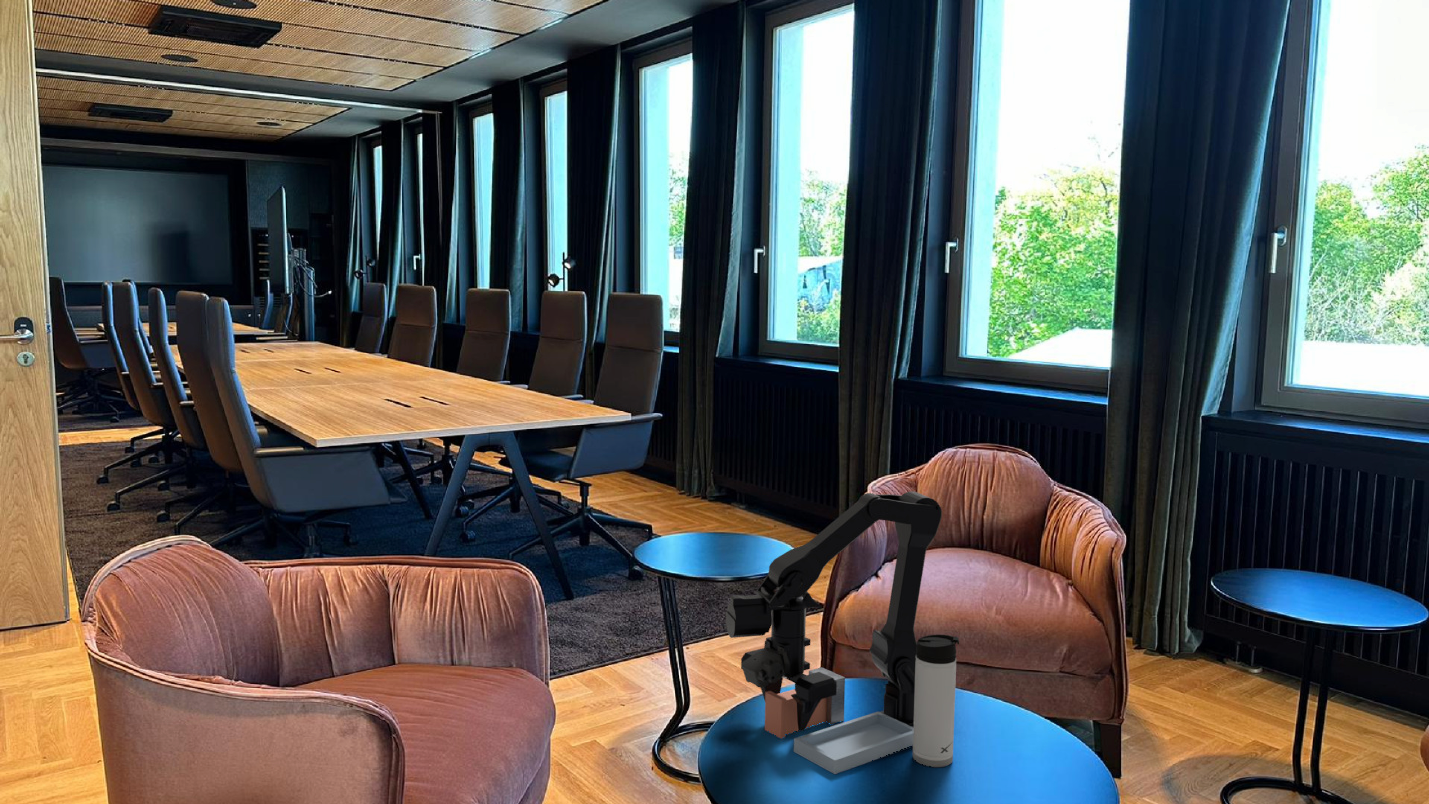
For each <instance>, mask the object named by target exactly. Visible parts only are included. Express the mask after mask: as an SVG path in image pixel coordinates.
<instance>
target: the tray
mask: <svg viewBox="0 0 1429 804" xmlns="http://www.w3.org/2000/svg"><path fill="white" fill-rule="evenodd" d="M913 727H914V726H912V725H911V726H909V725H907V724H905V723H903V722H900V721H898V720H896V719H894V718H892V717H889V716H887V715H885V714H883V713H881V711H875V712H872V713H869V714H867V715H863V716H860V717H857V718H853V719H851V720H847V721H843V722H840V723H837V724H834V725H831V726H830V727H829V726H828V727H826V728H823V729H820V730H817V731H814V732H810V733H808V734H804V735H801V736H798V737H794V738H793V752H794V753H795V754H798V755H799V756H801V757H802V758H805V759H807V760H808V761H810V762H812V763H813V764H815V765H818V766H819V767H821V768H823V769H824V770H826V771H828V772H830V773H832V774H834V775H836V774H838V773H839V774H840V773H842V772H845V771H848V770H851V769H854V768H856V767H858V766H862V765H865V764H867V763H871V762H873V761H875V760H879V759H881V758H883V757H887V756H889V755H888V754H890V755H892V754H894V753H893V752H895V753H897V752H896V751H898V752H900V750H901V749H903V750H905V749H904V748H906V749H908V748H907V747H909V746H912V747H913ZM909 748H910V747H909ZM901 751H902V750H901ZM886 755H887V756H886ZM880 757H881V758H880ZM872 760H873V761H872Z"/></svg>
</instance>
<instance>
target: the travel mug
mask: <svg viewBox="0 0 1429 804" xmlns="http://www.w3.org/2000/svg"><path fill="white" fill-rule="evenodd" d="M916 642H917V643H916V650H917V651H916V663H915V695H914V725H913V726H912V727H913V746H912V758H913V760H914V761H915V760H916V761H915V762H916V763H919V764H921V765H922V764H923V766H925V765H926V767H929V766H931V767H930V768H944V767H947V766H949V765H950V764H952V762H954V761H953V760H954V735H955V733H954V732H955V706H956V705H955V703H956V680H957V679H956V675H957V673H956V672H957V647H956V645H959V644H960V639H959V637H958V636H952V635H949V634H940V633H939V634H928V635H924V636H921V637H919V638H918V640H916Z"/></svg>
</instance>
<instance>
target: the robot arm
mask: <svg viewBox="0 0 1429 804" xmlns="http://www.w3.org/2000/svg"><path fill="white" fill-rule="evenodd" d="M942 517H943V510H942V507H941V506H940V504H939V503H938V502H937V501H936V500H935V499H933V498H932V497H930V496H927V495H924V494H922V493H919V492H917V491H913V490H912V491H907V492H905V493H903V494H902V495H901V494H900V495H899V494H892V493H891V494H887V493H884V494H875V493H872V492H871V493H870V492H868V493H867V492H866V493H864V494H863V495H860V497H859V498H858V501H856V502H855V503H854V504H852V505H851V506H850V507H849V508H848V509H847V510H845V511H844V512H843V513H842V514H841V515H839V516H838V517H837V518H835V519H834V521H832V522H831V523H830V524H829V525H827V526H826V527H825V528H824V529H823V530H822V531H820V532H819V533H817V535H815V536H814V537H813V538H812V539H811V540H810V541H808V542H806V543H804V544H802V545H800V546H797V547H794V548H792V549H790V550H789V549H788V551H786V552H785V553H783V554H781V555H779V556H777V557H776V558H774V559H773V561H771V563H770V564H769V566H768V574H767V575H766V576H765V578H764V579H763V581H762V582H761V583H760V585H759V586H758V587H757V588H756V591H755V593H756V594H755V595H753V594H751V595H739V594H734V595H733V594H732V595H730V597H729V603H728V604H727V611H726V612H725V624H726V625H725V626H726V630H727V634H728V636H729V637H730V639H731V638H732V639H733V638H745V637H746V638H748V637H750V638H751V637H759V636H760V637H762V636H765V635H766V634H767V633H770V636H769V637H765V641H764V647H763V648H759V649H754V650H751V651H750V650H749V651H746V652H744V654H743V655H742V657H741V659H740V661H741V662H740V669H741V670H742V671H743V675H744V677H745V681H746V682H747V683H751V684H753V685H755V686H756V687H757V688H760V690H761V693H762V696H763V699H764V701H765V692H768V691H771V692H773V693H775V694H779V693H781V691H782V690H781V689H782V684H783V680H784V679H785V680H788V681H789V682H792V683H794V689H795V691H796V694H792V695H791V696H792V698H793V699H794V700H795V701H796V702H797V722H798V730H799V731H798V732H803V731H805V730H806V729H807V728H806V726H807V724H808V722H809V720H810V718H811V716H812V714H813V713H814V711H815V709H816V707H817V705H818V704H819V702H820V701H821V699H824V698H827V697H830V696H834V695H836V694H837V682H836V681H835V680H834V678H832V677H830V676H828V675H825V674H823V673H821V672H817V673H813V674H809V673H808V674H805V673H804V671H807V670H808V671H809V670H810V669H811V663H810V662H809V661H806V659H805V658H806V647H808V646H811V638H808V637H806V622H807V621H806V616H807V612H806V611H807V609H811V608H817V607H819V603H818V602H817V601H816V600H814V598H813V597H812V596H811V594H810V593H809V590H810V589H811V588H812V586H813V585H814V584H815V583H816V582H817V581H818V580H819V578H820V575H821V574H822V572H823V570H824V568H825V567H826V566H827V564H828V563H829V562H830V561H832V560H833V559H834V558H835V557H836V556H837V555H839V554H840V553H841V552H842V551H843V550H844V549H846V548H847V547H848V546H849V545H851V543H853V542H854V541H856V540H857V538H859V537H860V536H861V535H862V534H863V533H865V532H866V531H867V530H868V529H869V528H871V526H873V525H874V524H875V523H877V522H878V521H887V522H893V523H894V527H895V530H896V535H897V539H898V548H897V552H896V553H897V554H896V561H895V566H894V573H893V579H892V585H891V592H890V599H889V605H888V611H887V618H886V622H885V624H884V625H883V627H882V628H881V630H878V629H873V631H872V640H871V641H872V642H871V646H870V647H869V650H868V651H869V653H870V654H871V659H872V662H873V664H874V665H875V666H876V668H878V669H879V670H880V672H881V675H882V677H883V678H886V680H888V681H887V683H885V693H884V695H883V710H882V711H880V712H881V713H883V714H885V715H887V716H889V717H892V718H894V719H896V720H898V721H900V722H903V723H905V724H907V725H909V726H911V727H912V726H914V695H915V663H916V651H917V650H916V643H917V638H916V634H915V624H916V617H917V611H918V604H919V599H920V592H921V586H922V579H923V574H924V566H925V559H926V553H927V549H928V547H929V545H930V544H931V543H932V542H933V540H934V539H935V537H936V535H937V533H938V530H939V527H940V524H941V521H942ZM776 589H777V590H776ZM775 591H776V592H775ZM770 630H771V632H770ZM805 728H806V729H805Z"/></svg>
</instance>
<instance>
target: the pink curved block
mask: <svg viewBox="0 0 1429 804" xmlns="http://www.w3.org/2000/svg"><path fill="white" fill-rule="evenodd" d="M792 694H796V691H795V688H794V689H791V690H790V689H789V690H786V691H783V692H780V693H779V694H775V693H773V692H771V691H768V692H765V700H764V703H765V704H764V731H766V732H768V731H769V732H768V733H770V734H772V735H773V734H774V736H775V735H776V736H775V737H777V738H779V739H784V738H786V735H785V734H787V735H790V734H793V732H794V731H797V732H799V731H798V722H797V702H796V701H795V700H794V699H793V698H792V696H791V695H792ZM826 721H827V698H824V699H821V701H820V702H819V704H818V705H817V707H816V709H815V711H814V713H813V714H812V716H811V718H810V720H809V722H808V724H807V726H806V729H808V728H807V727H809V728H811V727H810V726H812V725H816V726H818V725H817V724H819V723H822V722H825V723H827V722H826ZM822 724H823V723H822ZM819 725H820V724H819ZM789 733H790V734H789ZM794 733H795V732H794ZM783 737H784V738H783Z"/></svg>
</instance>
